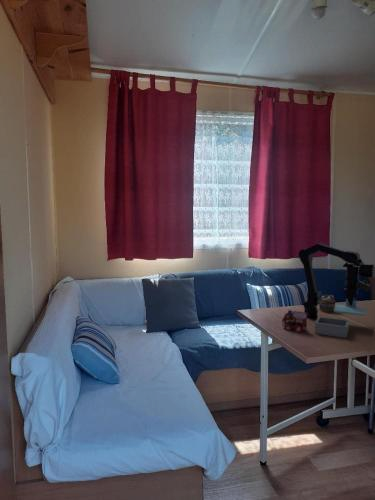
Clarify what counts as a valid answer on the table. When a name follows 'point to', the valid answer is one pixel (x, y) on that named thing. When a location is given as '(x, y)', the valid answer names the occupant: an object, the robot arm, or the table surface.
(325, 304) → the cupcake
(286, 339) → the table surface
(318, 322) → the tub
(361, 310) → the lid
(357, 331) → the table surface
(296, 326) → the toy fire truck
